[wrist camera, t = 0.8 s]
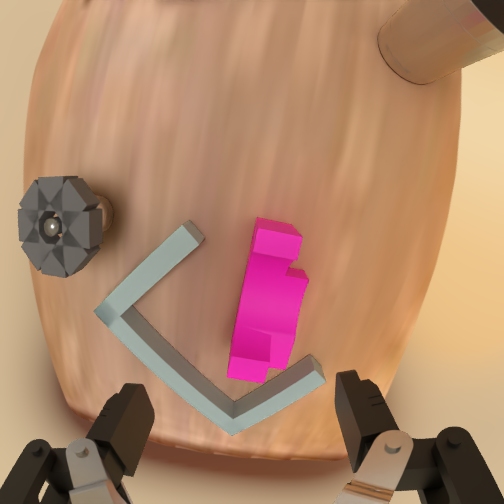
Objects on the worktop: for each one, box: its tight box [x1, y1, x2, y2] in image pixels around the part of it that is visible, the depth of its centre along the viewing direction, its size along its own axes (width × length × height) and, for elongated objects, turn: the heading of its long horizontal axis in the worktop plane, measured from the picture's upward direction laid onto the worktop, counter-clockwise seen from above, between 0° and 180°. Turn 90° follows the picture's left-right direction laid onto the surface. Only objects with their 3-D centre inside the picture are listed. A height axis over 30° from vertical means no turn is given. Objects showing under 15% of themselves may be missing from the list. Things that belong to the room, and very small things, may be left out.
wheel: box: [18, 176, 103, 278], centre depth 23 cm, size 9×9×2 cm
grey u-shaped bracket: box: [93, 220, 326, 436], centre depth 33 cm, size 15×24×4 cm, turn 40°
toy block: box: [227, 217, 309, 383], centre depth 30 cm, size 15×6×8 cm, turn 169°
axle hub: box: [44, 195, 113, 236], centre depth 26 cm, size 4×4×10 cm
